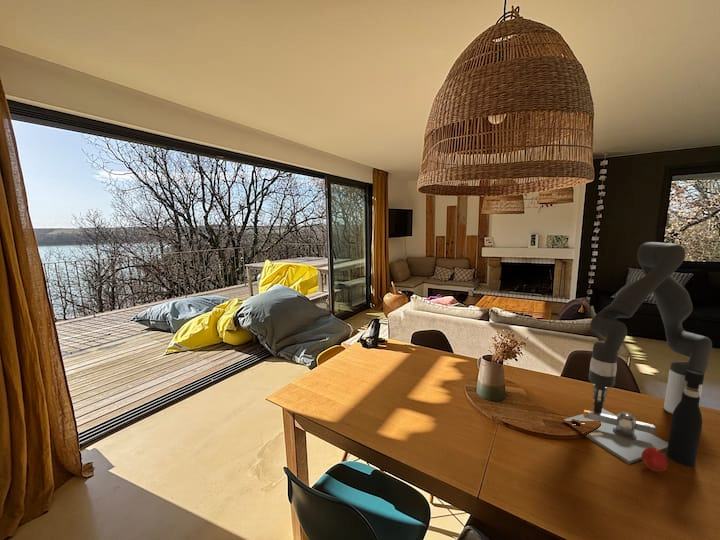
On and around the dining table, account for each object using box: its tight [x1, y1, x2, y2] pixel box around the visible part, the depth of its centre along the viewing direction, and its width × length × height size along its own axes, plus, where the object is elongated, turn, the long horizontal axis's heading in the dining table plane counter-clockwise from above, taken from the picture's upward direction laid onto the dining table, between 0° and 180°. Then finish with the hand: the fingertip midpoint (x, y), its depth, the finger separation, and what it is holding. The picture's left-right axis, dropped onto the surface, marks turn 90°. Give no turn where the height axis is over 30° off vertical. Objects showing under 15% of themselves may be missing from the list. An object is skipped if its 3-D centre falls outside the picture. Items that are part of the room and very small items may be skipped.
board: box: [562, 408, 668, 465], centre depth 109 cm, size 22×22×1 cm
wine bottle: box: [666, 369, 705, 468], centre depth 95 cm, size 6×6×30 cm
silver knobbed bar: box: [582, 409, 656, 438], centre depth 108 cm, size 20×5×7 cm, turn 63°
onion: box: [641, 447, 669, 472], centre depth 92 cm, size 6×6×8 cm
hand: (597, 413), depth 113 cm, fingers closed
